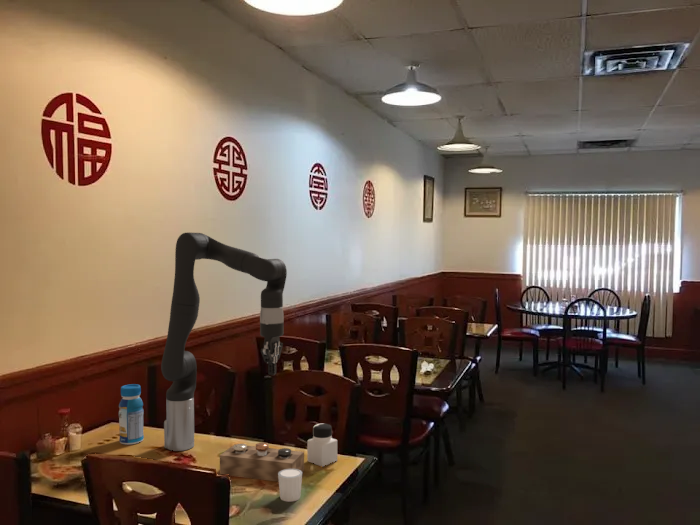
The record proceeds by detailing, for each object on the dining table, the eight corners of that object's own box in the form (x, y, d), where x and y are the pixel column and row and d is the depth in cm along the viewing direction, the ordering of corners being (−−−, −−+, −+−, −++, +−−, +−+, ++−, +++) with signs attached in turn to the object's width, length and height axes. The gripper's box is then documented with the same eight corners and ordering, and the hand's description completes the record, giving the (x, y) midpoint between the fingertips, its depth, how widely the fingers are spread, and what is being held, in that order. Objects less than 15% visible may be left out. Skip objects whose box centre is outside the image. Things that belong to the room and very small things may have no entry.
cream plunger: (231, 470, 186) (231, 447, 185) (237, 465, 190) (237, 443, 189) (243, 471, 185) (243, 448, 184) (249, 466, 188) (248, 444, 188)
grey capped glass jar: (276, 475, 182) (275, 452, 181) (281, 470, 185) (281, 447, 185) (288, 476, 180) (288, 453, 180) (293, 471, 184) (293, 449, 184)
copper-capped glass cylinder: (253, 469, 184) (253, 446, 183) (259, 464, 187) (258, 442, 187) (265, 470, 182) (265, 447, 182) (270, 465, 186) (270, 443, 186)
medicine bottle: (337, 461, 194) (337, 424, 194) (322, 467, 189) (322, 430, 189) (322, 455, 199) (322, 420, 199) (306, 461, 194) (306, 425, 194)
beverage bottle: (139, 445, 209) (138, 389, 208) (115, 445, 209) (114, 389, 208) (147, 437, 217) (146, 383, 217) (124, 437, 218) (123, 383, 217)
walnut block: (219, 474, 184) (219, 455, 183) (234, 462, 193) (234, 444, 193) (292, 483, 177) (292, 463, 177) (304, 470, 186) (304, 451, 186)
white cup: (292, 504, 163) (292, 479, 162) (273, 498, 166) (272, 474, 166) (307, 495, 168) (307, 471, 168) (288, 490, 172) (288, 466, 172)
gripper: (269, 318, 198) (269, 369, 199) (252, 323, 185) (252, 378, 186) (290, 318, 196) (290, 370, 197) (274, 324, 183) (274, 380, 184)
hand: (272, 374), depth 191 cm, fingers closed
